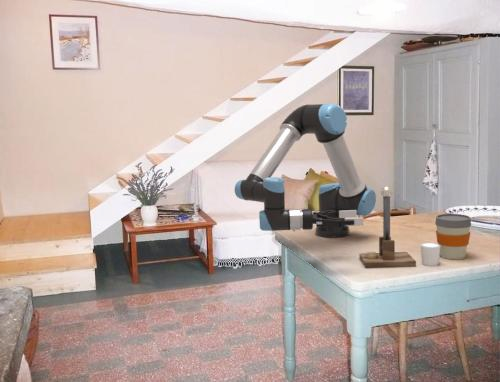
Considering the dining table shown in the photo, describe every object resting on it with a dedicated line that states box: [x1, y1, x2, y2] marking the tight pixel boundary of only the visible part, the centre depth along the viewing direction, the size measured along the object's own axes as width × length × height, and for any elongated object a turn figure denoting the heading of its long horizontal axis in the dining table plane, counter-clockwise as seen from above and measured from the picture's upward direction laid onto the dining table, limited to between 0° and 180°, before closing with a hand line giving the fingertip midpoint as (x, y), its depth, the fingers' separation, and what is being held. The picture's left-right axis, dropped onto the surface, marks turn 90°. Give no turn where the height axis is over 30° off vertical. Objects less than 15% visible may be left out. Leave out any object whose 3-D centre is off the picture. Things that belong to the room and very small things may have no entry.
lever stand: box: [358, 236, 417, 269], centre depth 194 cm, size 12×18×9 cm, turn 89°
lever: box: [380, 186, 393, 246], centre depth 192 cm, size 4×4×24 cm
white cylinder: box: [420, 242, 440, 267], centre depth 191 cm, size 7×7×7 cm
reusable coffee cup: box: [435, 213, 472, 260], centre depth 198 cm, size 12×12×15 cm
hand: (359, 217), depth 192 cm, fingers open, 13 cm apart
